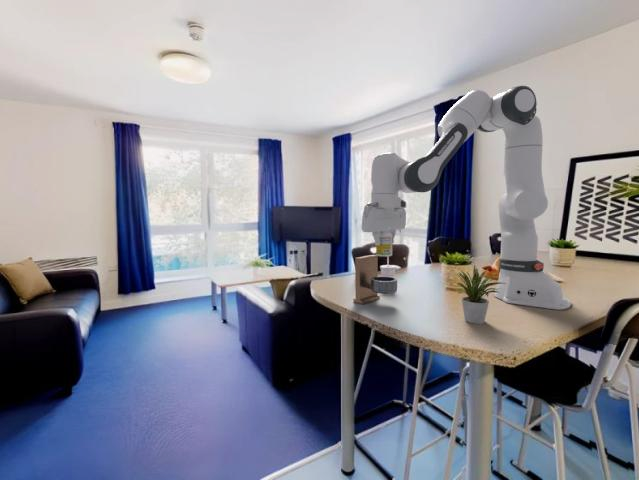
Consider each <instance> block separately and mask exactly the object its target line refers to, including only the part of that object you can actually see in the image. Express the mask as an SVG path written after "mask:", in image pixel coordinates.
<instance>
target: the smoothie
mask: <svg viewBox="0 0 639 480" xmlns="http://www.w3.org/2000/svg"><path fill="white" fill-rule="evenodd" d="M386 258H387V259H386V261H387V262H386V263H387V264H382V265H380V266H379V269H380V271H381V272H380V274H381V276H388V277H394V278H395V275H396V270H397V266H396V265H392V264H389V263H390V259H389V258H390V256H386Z"/></svg>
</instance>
